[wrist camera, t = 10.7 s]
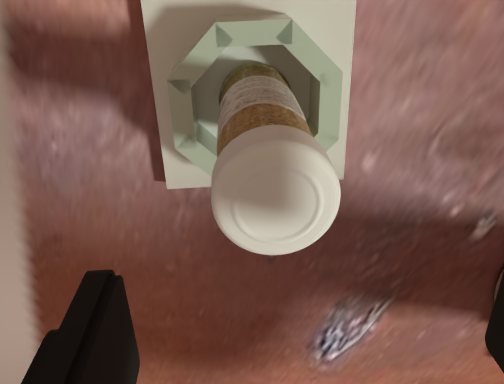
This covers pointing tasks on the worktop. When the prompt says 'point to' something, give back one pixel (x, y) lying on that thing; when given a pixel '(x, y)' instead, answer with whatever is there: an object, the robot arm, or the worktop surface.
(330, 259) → the worktop surface
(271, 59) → the bottle collar
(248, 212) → the sprinkles bottle
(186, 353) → the worktop surface
